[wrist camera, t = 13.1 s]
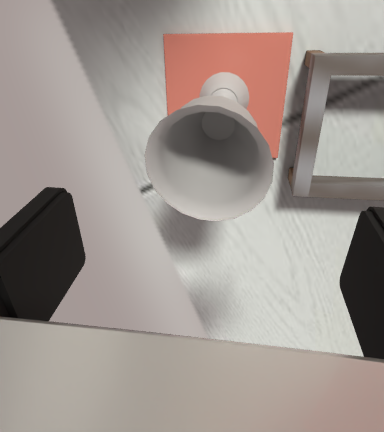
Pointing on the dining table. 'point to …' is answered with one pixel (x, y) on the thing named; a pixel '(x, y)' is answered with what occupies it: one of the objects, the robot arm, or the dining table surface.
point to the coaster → (236, 64)
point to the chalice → (211, 154)
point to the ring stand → (312, 121)
